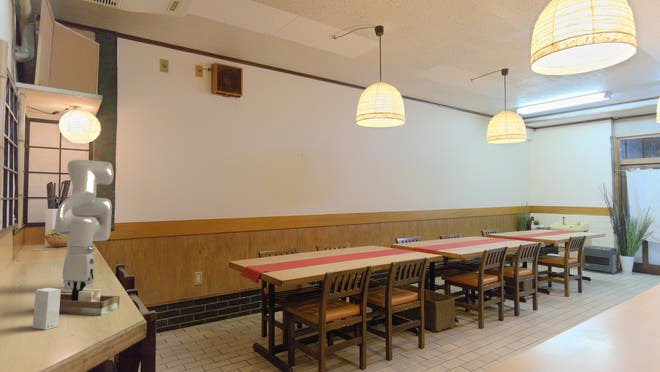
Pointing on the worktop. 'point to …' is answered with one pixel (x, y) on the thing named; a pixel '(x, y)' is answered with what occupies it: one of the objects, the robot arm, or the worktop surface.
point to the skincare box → (46, 308)
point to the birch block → (89, 295)
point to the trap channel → (88, 305)
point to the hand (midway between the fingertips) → (76, 299)
